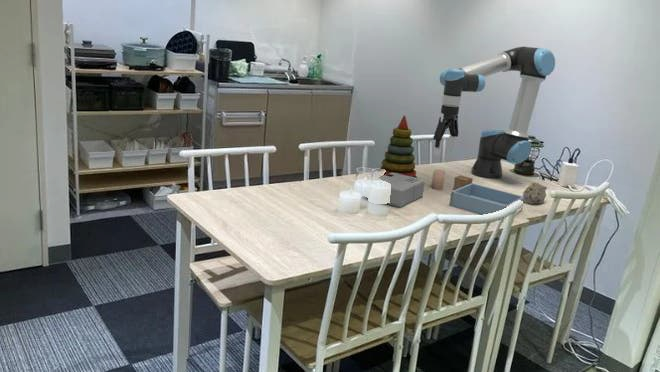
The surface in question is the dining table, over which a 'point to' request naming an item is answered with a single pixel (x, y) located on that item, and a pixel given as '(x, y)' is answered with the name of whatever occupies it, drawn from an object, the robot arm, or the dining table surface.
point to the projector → (403, 188)
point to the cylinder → (438, 179)
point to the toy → (400, 152)
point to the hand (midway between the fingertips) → (443, 152)
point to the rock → (534, 193)
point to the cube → (461, 181)
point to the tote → (482, 199)
